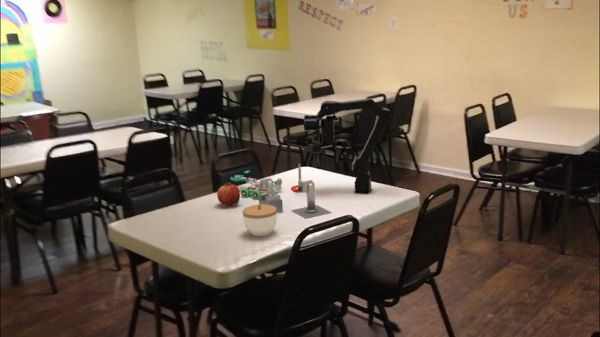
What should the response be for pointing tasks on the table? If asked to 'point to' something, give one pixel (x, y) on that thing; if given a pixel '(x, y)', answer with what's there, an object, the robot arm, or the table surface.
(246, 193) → the robot kit
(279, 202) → the vise
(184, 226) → the table surface
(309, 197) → the flanged metal post
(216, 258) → the table surface
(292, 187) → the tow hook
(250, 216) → the lidded bowl
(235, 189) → the fruit
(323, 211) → the mat
